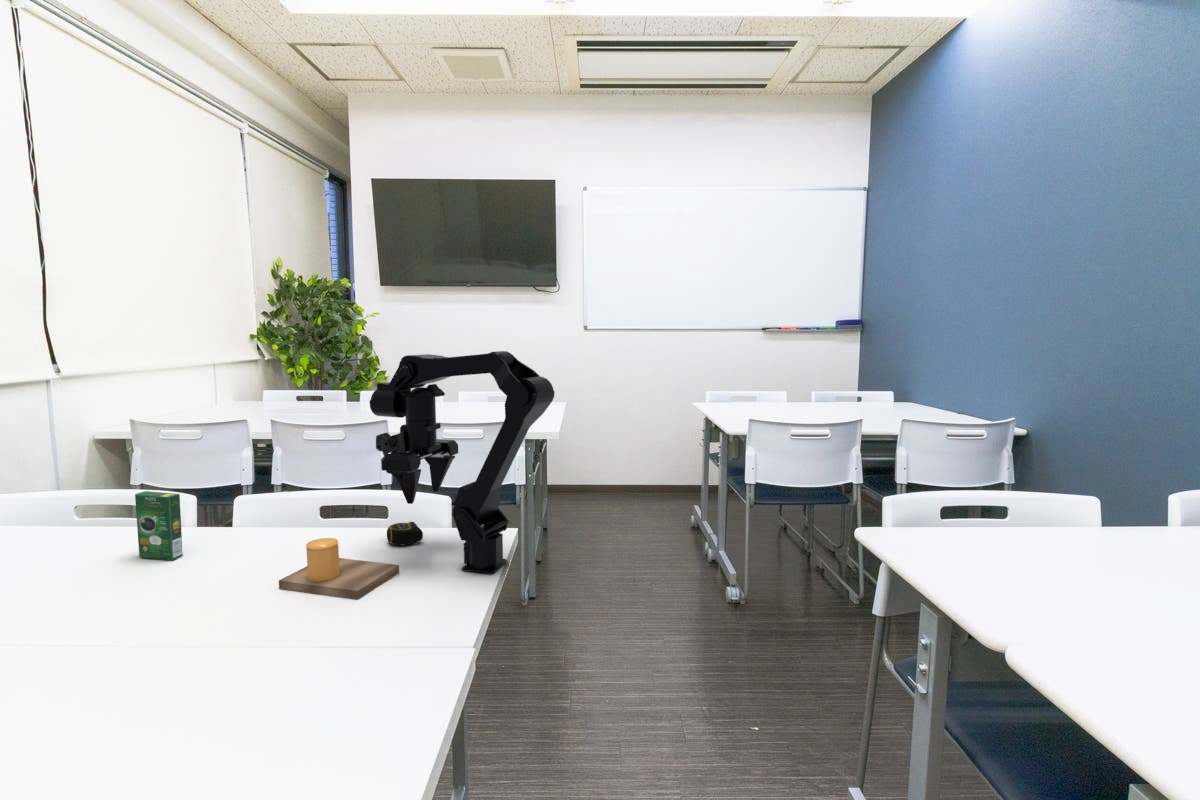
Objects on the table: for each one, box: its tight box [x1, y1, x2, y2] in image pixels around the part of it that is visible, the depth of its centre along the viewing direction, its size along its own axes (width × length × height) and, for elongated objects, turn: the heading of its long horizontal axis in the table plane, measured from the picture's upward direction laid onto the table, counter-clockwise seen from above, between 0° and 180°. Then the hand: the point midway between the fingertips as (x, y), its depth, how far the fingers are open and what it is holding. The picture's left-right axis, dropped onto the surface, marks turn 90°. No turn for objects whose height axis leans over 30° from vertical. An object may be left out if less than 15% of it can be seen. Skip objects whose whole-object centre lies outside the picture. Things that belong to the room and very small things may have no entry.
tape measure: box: [386, 521, 424, 546], centre depth 132 cm, size 7×7×4 cm
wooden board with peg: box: [278, 557, 400, 600], centre depth 111 cm, size 16×12×6 cm
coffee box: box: [134, 490, 184, 561], centre depth 122 cm, size 8×3×13 cm, turn 79°
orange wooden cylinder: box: [305, 537, 340, 581], centre depth 110 cm, size 5×5×6 cm
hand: (423, 497), depth 123 cm, fingers open, 9 cm apart
